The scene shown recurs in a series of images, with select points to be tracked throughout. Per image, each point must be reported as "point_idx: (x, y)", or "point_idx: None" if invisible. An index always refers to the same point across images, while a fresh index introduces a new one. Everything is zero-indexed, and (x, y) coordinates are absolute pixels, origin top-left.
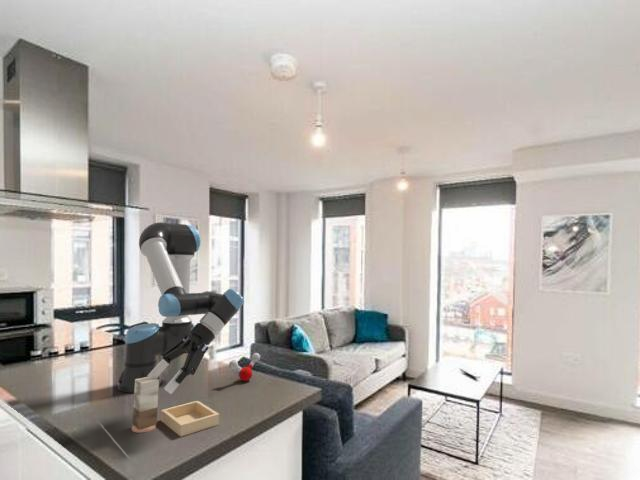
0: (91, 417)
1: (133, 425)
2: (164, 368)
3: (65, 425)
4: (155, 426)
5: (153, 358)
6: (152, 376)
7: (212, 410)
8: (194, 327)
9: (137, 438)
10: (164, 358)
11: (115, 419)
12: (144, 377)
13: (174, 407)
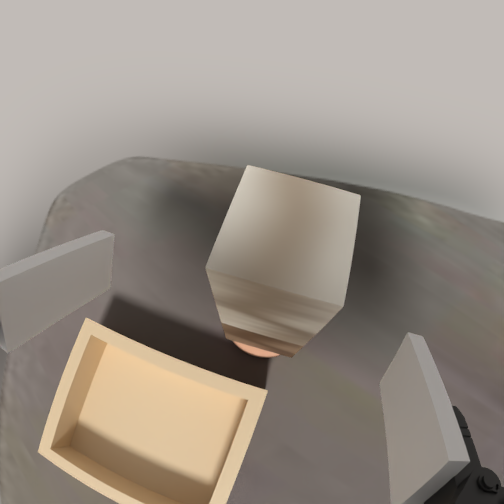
0: (463, 279)
1: None
2: (393, 463)
3: (453, 219)
4: (233, 341)
5: None
6: (326, 297)
7: (76, 475)
8: None
9: None
10: (462, 482)
11: (409, 311)
12: (350, 248)
13: (238, 441)
